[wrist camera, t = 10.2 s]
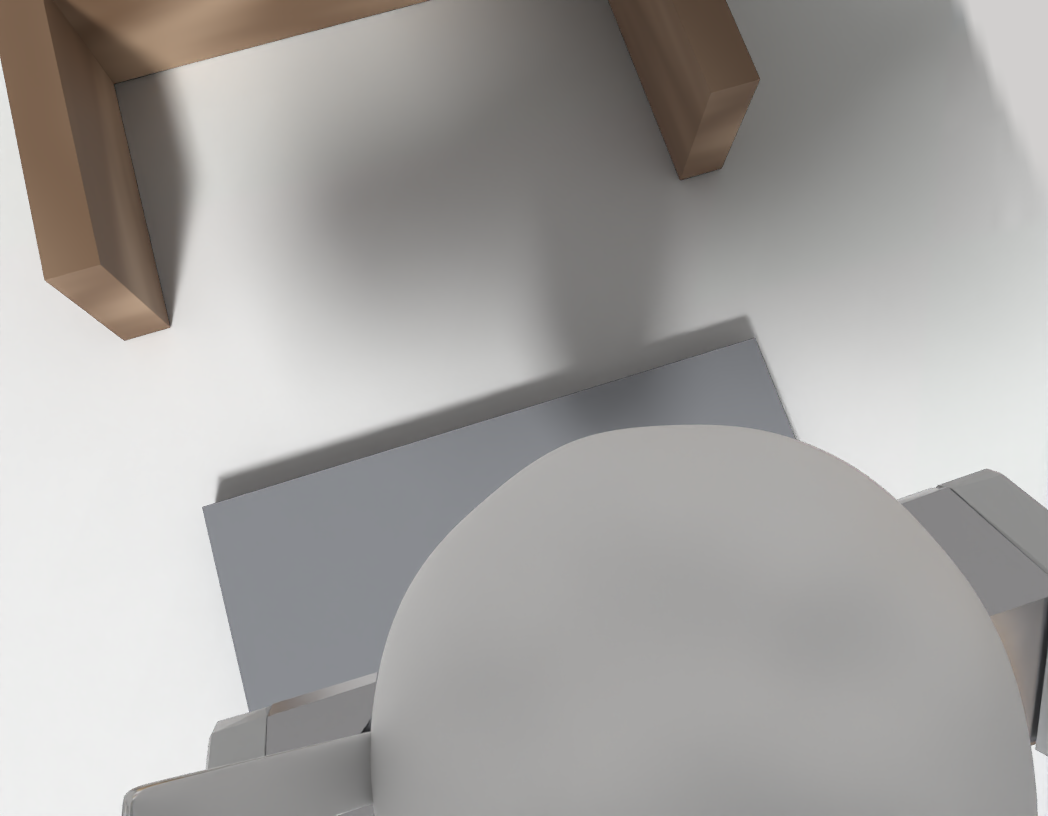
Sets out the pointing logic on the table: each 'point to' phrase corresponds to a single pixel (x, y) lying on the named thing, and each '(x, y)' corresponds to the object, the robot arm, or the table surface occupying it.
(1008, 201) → the table surface
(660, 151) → the table surface
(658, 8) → the walnut cubby
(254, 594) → the grey pad
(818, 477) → the milkshake
